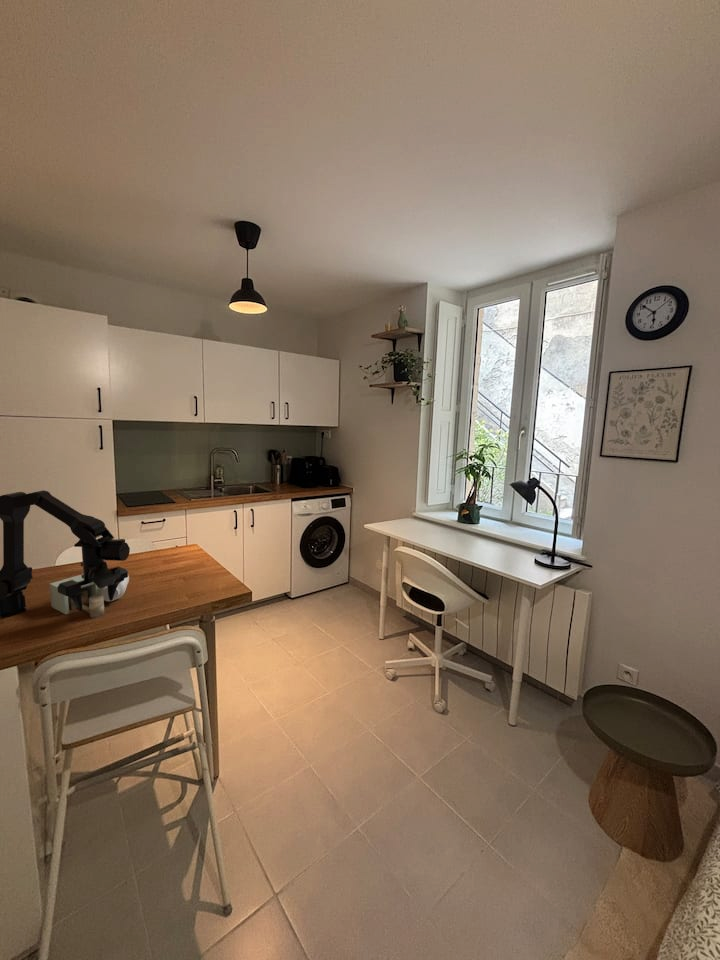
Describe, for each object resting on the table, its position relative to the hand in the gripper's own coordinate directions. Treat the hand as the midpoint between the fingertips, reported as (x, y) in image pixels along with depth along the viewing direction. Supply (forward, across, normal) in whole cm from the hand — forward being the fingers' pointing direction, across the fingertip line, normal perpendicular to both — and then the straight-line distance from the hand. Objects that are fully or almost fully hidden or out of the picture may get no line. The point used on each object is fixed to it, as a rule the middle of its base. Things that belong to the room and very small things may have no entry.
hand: (96, 605), depth 129 cm
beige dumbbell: (+3, 0, +7) cm, 7 cm away
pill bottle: (0, +15, +15) cm, 22 cm away
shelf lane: (+3, 0, +12) cm, 13 cm away
